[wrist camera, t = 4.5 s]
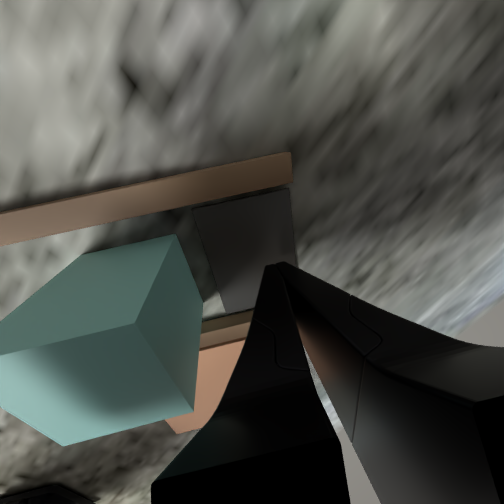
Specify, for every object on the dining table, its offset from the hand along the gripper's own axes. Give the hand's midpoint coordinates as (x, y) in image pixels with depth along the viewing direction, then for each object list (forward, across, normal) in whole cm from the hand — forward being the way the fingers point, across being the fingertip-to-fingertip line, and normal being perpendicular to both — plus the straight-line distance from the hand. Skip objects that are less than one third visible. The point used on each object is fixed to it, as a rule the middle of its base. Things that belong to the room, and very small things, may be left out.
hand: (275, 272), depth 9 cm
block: (+2, +6, 0) cm, 6 cm away
